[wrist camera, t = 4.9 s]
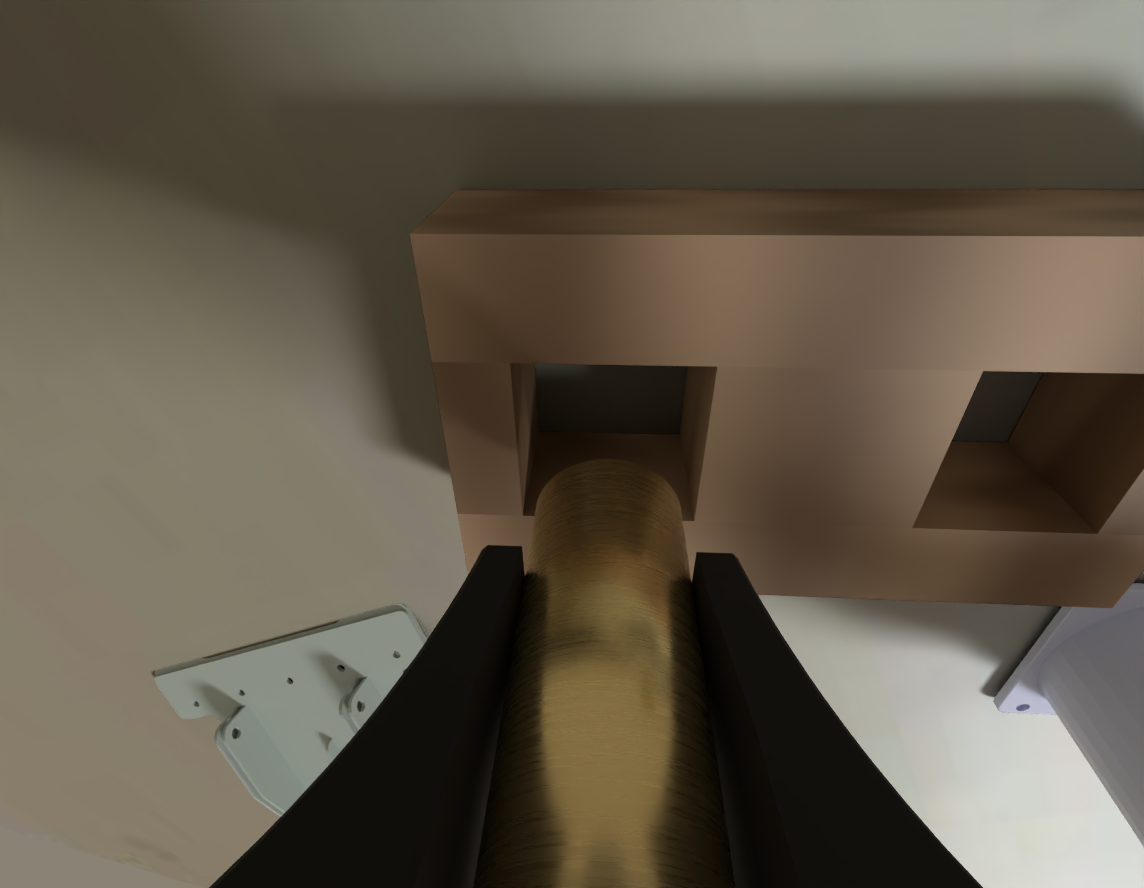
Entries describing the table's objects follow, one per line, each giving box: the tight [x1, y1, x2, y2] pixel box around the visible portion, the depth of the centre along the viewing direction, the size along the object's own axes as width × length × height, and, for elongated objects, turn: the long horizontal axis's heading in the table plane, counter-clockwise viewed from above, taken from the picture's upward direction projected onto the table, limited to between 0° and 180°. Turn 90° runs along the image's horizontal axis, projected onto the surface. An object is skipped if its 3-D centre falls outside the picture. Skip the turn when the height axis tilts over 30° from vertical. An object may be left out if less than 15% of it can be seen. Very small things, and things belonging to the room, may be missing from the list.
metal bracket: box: [154, 604, 427, 817], centre depth 29 cm, size 14×6×15 cm
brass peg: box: [473, 459, 736, 888], centre depth 9 cm, size 3×3×7 cm
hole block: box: [410, 189, 1144, 608], centre depth 15 cm, size 18×10×4 cm, turn 91°
